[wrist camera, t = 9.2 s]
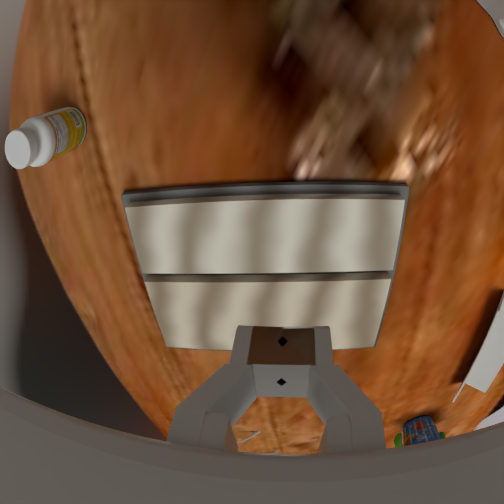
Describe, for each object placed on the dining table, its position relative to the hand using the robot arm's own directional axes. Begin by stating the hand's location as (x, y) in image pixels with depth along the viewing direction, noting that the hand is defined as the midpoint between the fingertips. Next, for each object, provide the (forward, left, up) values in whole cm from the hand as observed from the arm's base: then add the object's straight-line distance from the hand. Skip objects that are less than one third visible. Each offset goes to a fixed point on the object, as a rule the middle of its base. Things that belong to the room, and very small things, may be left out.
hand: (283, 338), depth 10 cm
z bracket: (-40, +32, -25) cm, 57 cm away
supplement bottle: (+24, -6, -25) cm, 35 cm away
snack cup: (-33, +60, -25) cm, 73 cm away
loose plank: (+2, +20, -23) cm, 31 cm away
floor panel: (+2, +15, -24) cm, 29 cm away
